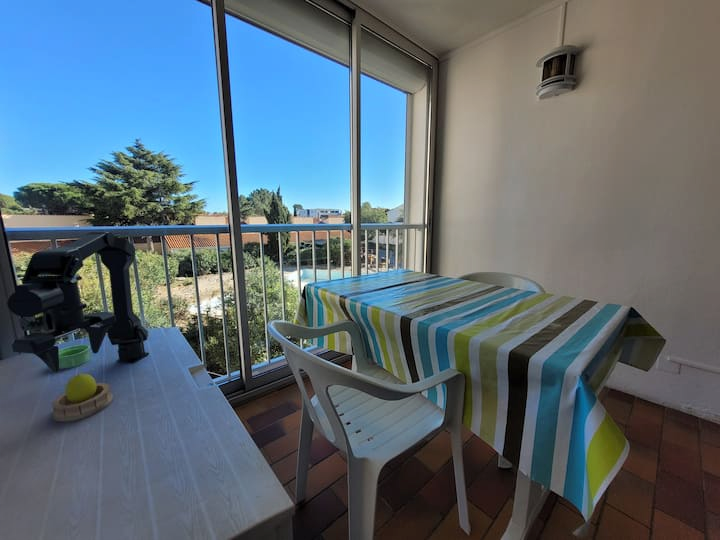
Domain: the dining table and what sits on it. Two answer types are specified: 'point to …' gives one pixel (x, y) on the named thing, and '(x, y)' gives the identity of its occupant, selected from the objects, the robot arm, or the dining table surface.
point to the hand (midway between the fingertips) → (76, 361)
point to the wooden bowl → (81, 405)
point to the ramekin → (73, 356)
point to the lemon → (80, 388)
